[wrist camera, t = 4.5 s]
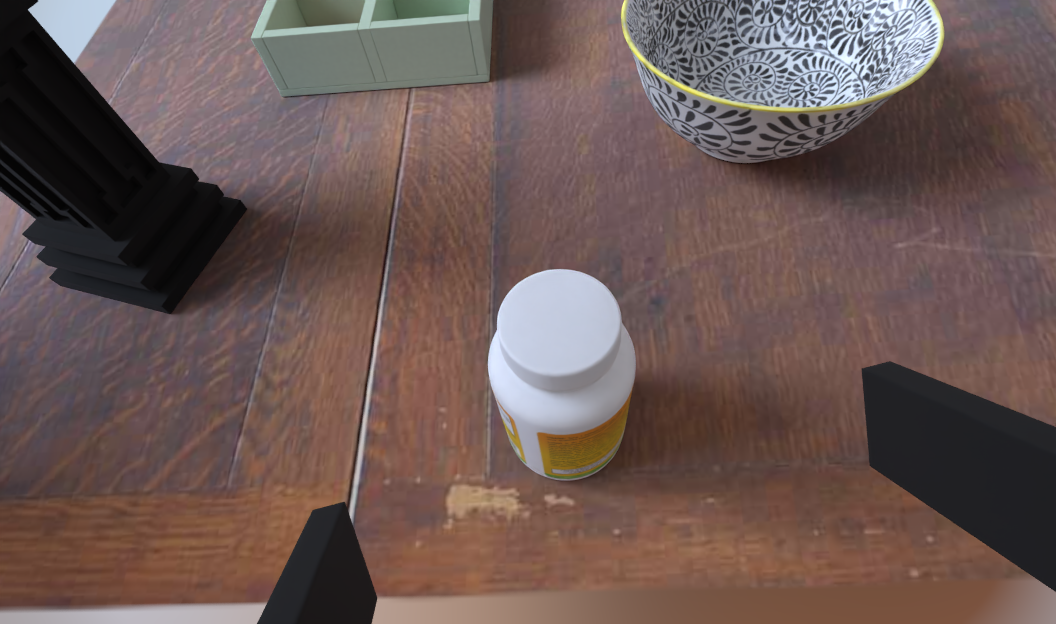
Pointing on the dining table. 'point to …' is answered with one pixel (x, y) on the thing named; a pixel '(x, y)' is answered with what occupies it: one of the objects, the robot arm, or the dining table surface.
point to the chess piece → (97, 180)
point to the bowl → (776, 67)
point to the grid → (373, 44)
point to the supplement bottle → (562, 373)
